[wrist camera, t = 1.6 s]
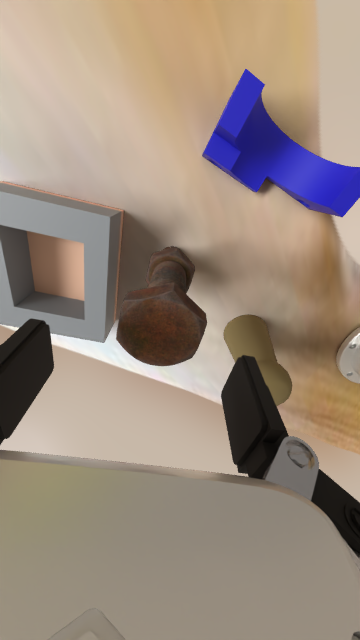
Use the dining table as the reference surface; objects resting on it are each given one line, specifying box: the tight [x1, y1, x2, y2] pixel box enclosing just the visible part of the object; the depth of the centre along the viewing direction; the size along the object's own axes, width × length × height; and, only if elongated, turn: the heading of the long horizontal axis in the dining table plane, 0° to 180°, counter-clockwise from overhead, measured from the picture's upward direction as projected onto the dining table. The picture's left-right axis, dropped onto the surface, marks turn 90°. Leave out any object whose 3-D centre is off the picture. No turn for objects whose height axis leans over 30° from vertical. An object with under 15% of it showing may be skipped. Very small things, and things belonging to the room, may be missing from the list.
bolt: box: [116, 246, 207, 366], centre depth 20 cm, size 6×5×15 cm
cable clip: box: [202, 69, 360, 217], centre depth 19 cm, size 12×4×6 cm, turn 61°
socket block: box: [0, 181, 124, 343], centre depth 24 cm, size 12×14×5 cm
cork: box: [224, 315, 292, 406], centre depth 27 cm, size 6×6×11 cm
